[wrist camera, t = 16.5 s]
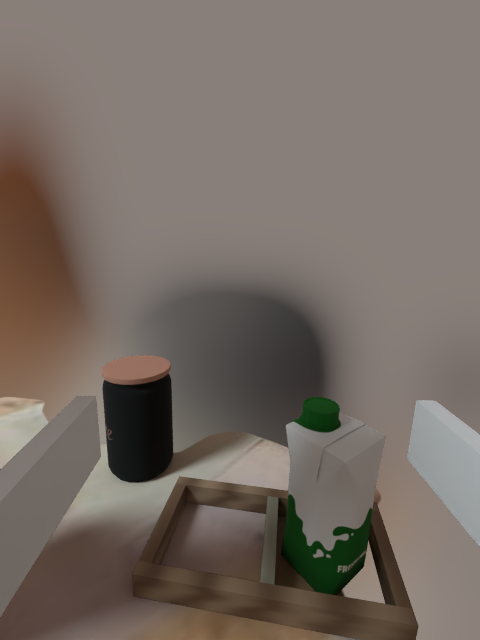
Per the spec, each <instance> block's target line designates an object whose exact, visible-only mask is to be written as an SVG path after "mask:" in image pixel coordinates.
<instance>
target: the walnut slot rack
mask: <svg viewBox="0 0 480 640" xmlns="http://www.w3.org/2000/svg"><path fill="white" fill-rule="evenodd" d="M186 502H188V503H195V504H202V505H209V506H216V507H223V508H230V509H237V510H244V511H251V512H258V513H264V514H266V521H265V533H264V544H263V555H262V566H261V577H260V582H257V581H251V580H245V579H240V578H234V577H228V576H223V575H217V574H211V573H206V572H200V571H194V570H188V569H183V568H177V567H171V566H166V565H161V562H162V560H163V557H164V555H165V553H166V550H167V548H168V545H169V543H170V540H171V538H172V535H173V533H174V531H175V528H176V526H177V523H178V521H179V518H180V516H181V513H182V511H183V508H184V506H185V504H186ZM287 503H288V491H285V490H277V489H270V488H262V487H255V486H247V485H240V484H232V483H225V482H217V481H210V480H202V479H195V478H187V477H180V476H179V478H178V480H177V482H176V484H175V487H174V489H173V491H172V493H171V495H170V497H169V499H168V501H167V503H166V505H165V507H164V509H163V511H162V513H161V516H160V518H159V520H158V522H157V524H156V526H155V528H154V530H153V532H152V534H151V536H150V538H149V540H148V542H147V544H146V547H145V549H144V551H143V553H142V555H141V557H140V559H139V561H138V563H137V565H136V567H135V569H134V571H133V573H132V579H133V594H134V596H136V597H141V598H146V599H151V600H157V601H162V602H167V603H172V604H177V605H183V606H188V607H193V608H198V609H203V610H209V611H214V612H219V613H224V614H229V615H235V616H240V617H245V618H250V619H255V620H260V621H266V622H271V623H276V624H281V625H286V626H292V627H297V628H302V629H307V630H312V631H318V632H323V633H328V634H333V635H338V636H344V637H349V638H354V639H359V640H416V635H417V630H418V624H417V621H416V618H415V615H414V612H413V609H412V606H411V604H410V600H409V597H408V594H407V591H406V589H405V586H404V582H403V579H402V577H401V574H400V571H399V568H398V565H397V562H396V559H395V556H394V553H393V550H392V547H391V544H390V541H389V538H388V535H387V532H386V529H385V526H384V524H383V520H382V517H381V515H380V512H379V509H378V506H377V503H375V502H374V503H373V510H372V517H371V524H370V531H369V538H368V540H369V544H370V548H371V551H372V555H373V559H374V562H375V566H376V570H377V574H378V578H379V581H380V585H381V589H382V593H383V596H384V600H385V604H382V603H376V602H371V601H365V600H359V599H353V598H347V597H342V596H337V595H331V594H325V593H320V592H314V591H308V590H303V589H297V588H291V587H285V586H280V585H274V582H275V561H276V540H277V518H278V516H285V517H287Z"/></svg>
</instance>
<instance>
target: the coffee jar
mask: <svg viewBox="0 0 480 640" xmlns="http://www.w3.org/2000/svg"><path fill="white" fill-rule="evenodd" d="M170 369H171V365H170V362H169V361H167V360H166V359H164V358H161V357H157V356H150V355H146V356H145V355H139V356H130V357H125V358H120V359H117V360H113V361H111V362H109V363H107V364H106V365H105V366H104V367H103V368H102V377H103V378H104V379H105V380H104V383H103V399H104V413H105V425H106V438H107V451H108V464H109V468H110V469H111V471H112V473H113V474H114V475H116V477H118V478H119V479H121V480H123V481H127V482H142V481H147V480H150V479H152V478H154V477H157V476H158V475H159V474H161V473H162V472H164V470H165V469H166V468H167V466H168V465H169V463H170V462H171V460H172V456H173V434H172V433H173V430H172V395H171V394H172V390H171V378H170V375H169V374H168V373H169V371H170Z"/></svg>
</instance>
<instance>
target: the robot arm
mask: <svg viewBox="0 0 480 640" xmlns="http://www.w3.org/2000/svg"><path fill="white" fill-rule="evenodd" d="M100 457H101V450H100V438H99V426H98V414H97V403H96V396H76V397H75V398H74V399H73V400H72V401H71V402H70V403H69V404H68V405H67V406H66V407H65V408H64V409H63V410H62V411H61V412H60V413H59V414H58V415H57V416H56V417H55V418H54V419H52V420H51V421H50V422H49V423H48V424H47V425H46V426H45V427H44V428H43V429H42V430H41V431H40V432H39V433H38V434H37V435H36V436H35V437H34V438H33V439H32V440H31V441H30V442H29V443H28V444H27V445H26V446H24V447H23V448H22V449H21V450H20V451H19V452H18V453H17V454H16V455H15V456H14V457H13V458H12V459H11V460H10V461H9V462H8V463H7V464H6V465H5V466H4V467H3V468H2V469H0V617H1V616H2V614H3V612H4V611H5V609H6V608H7V606H8V604H9V603H10V601H11V600H12V598H13V596H14V595H15V593H16V592H17V590H18V588H19V587H20V585H21V584H22V582H23V580H24V579H25V577H26V576H27V574H28V572H29V571H30V569H31V568H32V566H33V564H34V563H35V561H36V560H37V558H38V556H39V555H40V553H41V552H42V550H43V548H44V547H45V545H46V544H47V542H48V540H49V539H50V537H51V536H52V534H53V532H54V531H55V529H56V528H57V526H58V524H59V523H60V521H61V520H62V518H63V516H64V515H65V513H66V512H67V510H68V508H69V507H70V505H71V504H72V502H73V500H74V499H75V497H76V496H77V494H78V492H79V491H80V489H81V488H82V486H83V484H84V483H85V481H86V480H87V478H88V476H89V475H90V473H91V472H92V470H93V468H94V467H95V465H96V464H97V462H98V460H99V459H100ZM407 459H408V460H409V461H410V463H411V464H412V465H413V466H414V468H415V469H416V470H417V471H418V472H419V474H420V475H421V476H422V477H423V479H424V480H425V481H426V482H427V483H428V485H429V486H430V487H431V488H432V490H433V491H434V492H435V493H436V494H437V496H438V497H439V498H440V499H441V500H442V502H443V503H444V504H445V505H446V507H447V508H448V509H449V510H450V511H451V513H452V514H453V515H454V516H455V518H456V519H457V520H458V521H459V523H460V524H461V525H462V526H463V527H464V528H465V530H466V531H467V532H468V534H470V536H471V537H472V538H473V540H474V541H475V542H476V543H477V544H478V546H479V547H480V435H479V434H478V433H477V432H475V431H474V430H473V429H471V428H470V427H469V426H467V425H466V424H465V423H463V422H462V421H461V420H459V419H458V418H457V417H456V416H454V415H453V414H452V413H450V412H449V411H448V410H446V409H445V408H444V407H443V406H441V405H440V404H439V403H437V402H436V401H429V400H424V401H423V400H417V401H416V407H415V414H414V420H413V426H412V432H411V438H410V444H409V451H408V456H407Z"/></svg>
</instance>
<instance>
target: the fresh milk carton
mask: <svg viewBox="0 0 480 640" xmlns="http://www.w3.org/2000/svg"><path fill="white" fill-rule="evenodd" d="M339 410H340V408H339V405H338V404H337V403H336V402H334V401H332V400H330V399H327V398H322V397H312V398H308V399H306V400H305V401H304V403H303V412H302V415H301V416H300V417H299V419H297V420H294V421H293V422H292V423H289V424H287V425H286V431H287V438H288V445H289V453H290V474H289V489H288V503H287V517H286V525H285V532H284V539H283V545H282V552H281V555H282V556H283V557H284V558H285V559H286V560H287V561H288V562H289V563H290V564H291V565H292V567H293V568H294V569H295V570H296V571H297V572H298V573H299V574H300V575H301V576H302V577H303V578H304V579H305V580H306V581H307V583H308V584H309V585H310V586H311V587H312V588H313V589H314V590H315V591H316V592H320V593H325V594H331V595H337V594H338V593H339V592H340V591H341V590H342V589H343V588H344V587H345V586H346V585H347V584H348V583H349V582H350V580H351V579H352V578H353V577H354V576H355V575H356V574H357V573H358V572H359V571H360V570H361V569H362V568H363V567H364V562H365V556H366V551H367V545H368V538H369V531H370V524H371V517H372V510H373V503H374V496H375V489H376V482H377V476H378V471H379V466H380V461H381V457H382V452H383V448H384V443H385V439H386V435H384V434H382V433H380V432H378V431H376V430H374V429H372V428H370V427H368V426H366V425H365V423H363V422H361V421H359V420H355V419H353V418H351V417H349V416H347V415H345V414H343V413H341V412H339Z"/></svg>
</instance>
